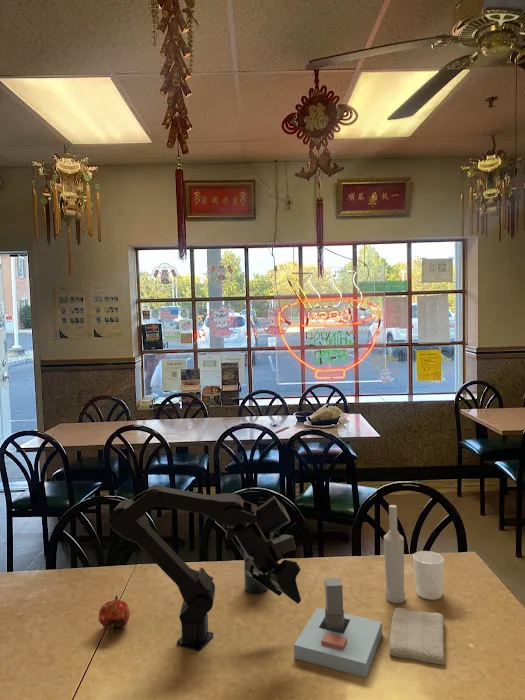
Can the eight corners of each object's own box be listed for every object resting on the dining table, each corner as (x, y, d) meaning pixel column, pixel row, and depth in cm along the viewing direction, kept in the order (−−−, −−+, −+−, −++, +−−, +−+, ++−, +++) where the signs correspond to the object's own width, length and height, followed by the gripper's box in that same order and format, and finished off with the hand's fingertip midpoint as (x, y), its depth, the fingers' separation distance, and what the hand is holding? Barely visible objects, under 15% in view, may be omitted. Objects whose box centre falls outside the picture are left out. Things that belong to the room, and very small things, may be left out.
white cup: (449, 601, 128) (448, 563, 128) (419, 601, 128) (418, 564, 128) (438, 585, 136) (438, 550, 136) (410, 586, 136) (409, 551, 136)
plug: (327, 642, 112) (325, 586, 112) (324, 630, 117) (322, 577, 117) (346, 641, 112) (344, 586, 112) (343, 630, 117) (341, 576, 117)
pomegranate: (129, 643, 118) (138, 601, 126) (118, 631, 114) (127, 588, 121) (100, 645, 119) (111, 603, 127) (88, 633, 115) (100, 590, 122)
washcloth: (443, 621, 120) (443, 609, 120) (446, 669, 103) (446, 654, 103) (393, 614, 124) (393, 602, 124) (389, 659, 107) (388, 645, 107)
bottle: (406, 604, 127) (403, 509, 126) (385, 602, 128) (383, 509, 128) (404, 594, 132) (402, 503, 132) (384, 592, 133) (382, 502, 133)
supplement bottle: (258, 596, 133) (257, 553, 133) (239, 589, 137) (238, 547, 137) (273, 586, 139) (272, 544, 138) (254, 579, 143) (253, 539, 142)
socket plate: (366, 677, 100) (365, 659, 100) (294, 658, 107) (293, 641, 107) (382, 634, 115) (381, 618, 115) (317, 619, 122) (317, 604, 122)
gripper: (297, 523, 111) (333, 580, 111) (261, 519, 127) (293, 568, 127) (262, 557, 105) (300, 617, 105) (229, 548, 121) (263, 599, 122)
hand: (289, 598), depth 115 cm, fingers open, 9 cm apart
